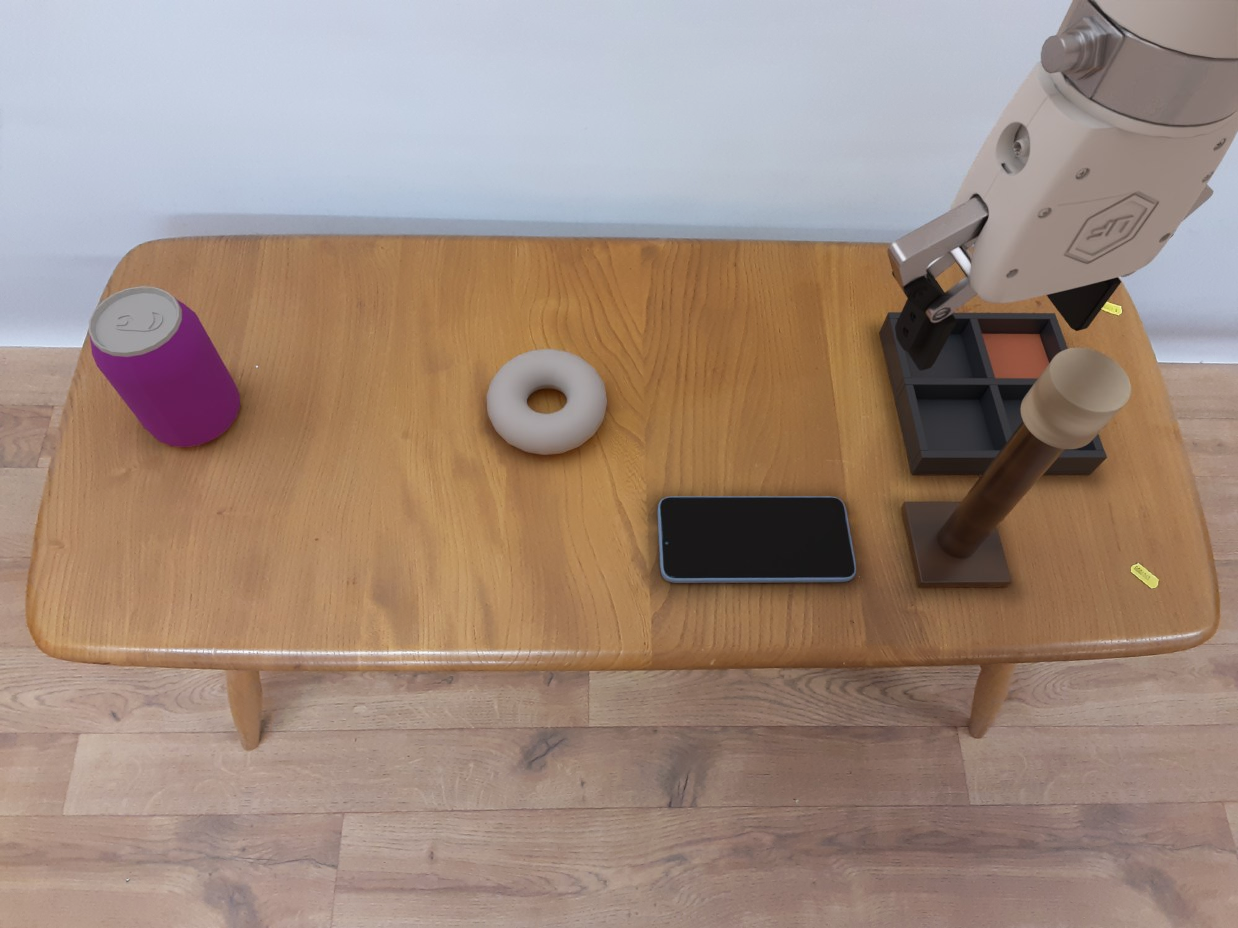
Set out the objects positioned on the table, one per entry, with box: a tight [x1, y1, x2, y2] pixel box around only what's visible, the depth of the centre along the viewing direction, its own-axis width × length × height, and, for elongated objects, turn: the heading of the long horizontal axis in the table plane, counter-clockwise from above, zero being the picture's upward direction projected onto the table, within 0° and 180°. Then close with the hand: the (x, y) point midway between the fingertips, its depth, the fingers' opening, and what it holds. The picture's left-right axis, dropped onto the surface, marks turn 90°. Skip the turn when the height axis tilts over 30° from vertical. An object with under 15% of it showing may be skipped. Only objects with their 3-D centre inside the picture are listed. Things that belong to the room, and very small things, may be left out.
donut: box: [485, 348, 608, 456], centre depth 73 cm, size 10×4×10 cm
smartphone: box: [657, 495, 857, 584], centre depth 69 cm, size 7×1×15 cm
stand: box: [900, 422, 1065, 589], centre depth 62 cm, size 7×7×18 cm
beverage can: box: [87, 285, 241, 448], centre depth 68 cm, size 8×8×12 cm
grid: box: [878, 311, 1108, 476], centre depth 76 cm, size 15×15×3 cm
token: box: [1021, 347, 1132, 449], centre depth 52 cm, size 5×5×4 cm
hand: (989, 330), depth 49 cm, fingers open, 9 cm apart
